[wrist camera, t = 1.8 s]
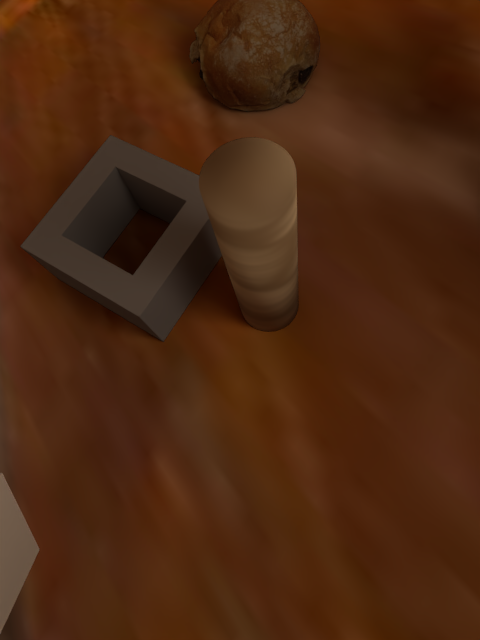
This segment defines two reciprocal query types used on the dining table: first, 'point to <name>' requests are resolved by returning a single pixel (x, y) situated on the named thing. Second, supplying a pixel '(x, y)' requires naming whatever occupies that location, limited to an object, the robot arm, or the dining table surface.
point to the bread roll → (256, 52)
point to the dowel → (256, 226)
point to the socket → (108, 223)
